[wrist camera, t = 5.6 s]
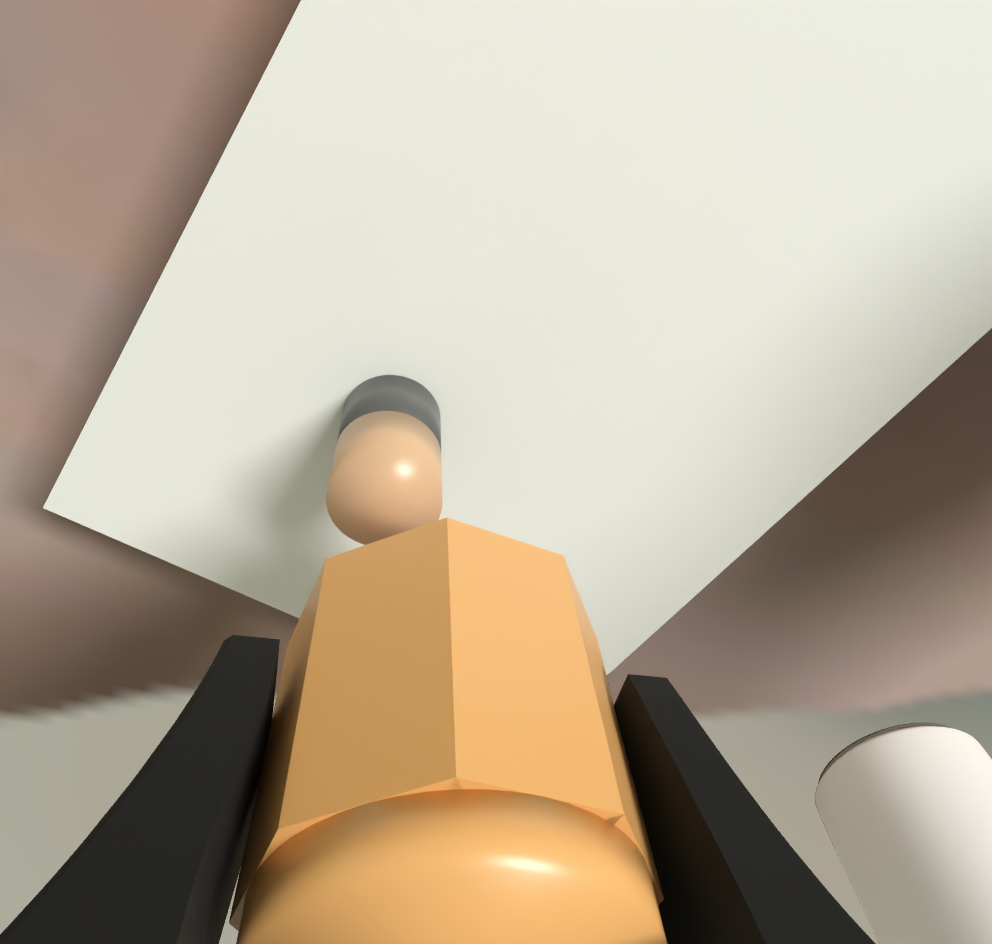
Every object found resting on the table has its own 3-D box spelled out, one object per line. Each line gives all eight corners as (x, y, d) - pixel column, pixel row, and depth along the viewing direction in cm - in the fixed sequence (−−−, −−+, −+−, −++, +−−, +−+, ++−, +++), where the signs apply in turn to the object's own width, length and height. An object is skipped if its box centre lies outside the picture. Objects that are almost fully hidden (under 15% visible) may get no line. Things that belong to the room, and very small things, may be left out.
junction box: (1038, 155, 16) (1303, 232, 12) (537, 648, 24) (566, 826, 19) (541, -421, 11) (632, -745, 6) (94, 437, 19) (-29, 605, 14)
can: (905, 830, 31) (1128, 1227, 21) (777, 806, 30) (954, 1225, 20) (1014, 734, 28) (1334, 1148, 18) (877, 702, 27) (1148, 1137, 17)
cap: (617, 688, 13) (707, 1021, 9) (374, 761, 14) (350, 1105, 9) (535, 487, 11) (606, 817, 6) (243, 586, 11) (132, 948, 7)
